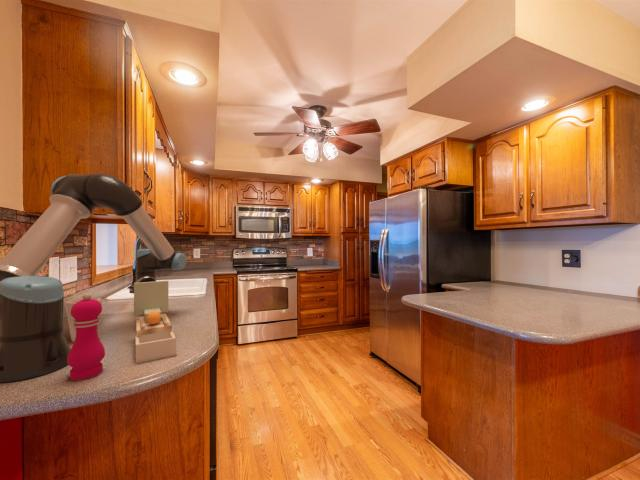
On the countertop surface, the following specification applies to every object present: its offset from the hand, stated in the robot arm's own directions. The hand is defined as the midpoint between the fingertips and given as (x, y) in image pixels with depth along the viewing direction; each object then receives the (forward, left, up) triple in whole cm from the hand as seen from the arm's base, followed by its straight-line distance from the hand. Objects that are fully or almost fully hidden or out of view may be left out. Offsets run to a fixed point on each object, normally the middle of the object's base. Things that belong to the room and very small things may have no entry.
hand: (150, 294), depth 101 cm
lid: (0, -9, -7) cm, 11 cm away
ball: (0, -16, -5) cm, 16 cm away
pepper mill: (-15, -27, -14) cm, 34 cm away
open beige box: (0, -22, -14) cm, 26 cm away
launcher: (0, -12, -14) cm, 18 cm away
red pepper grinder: (-19, +7, -14) cm, 25 cm away
